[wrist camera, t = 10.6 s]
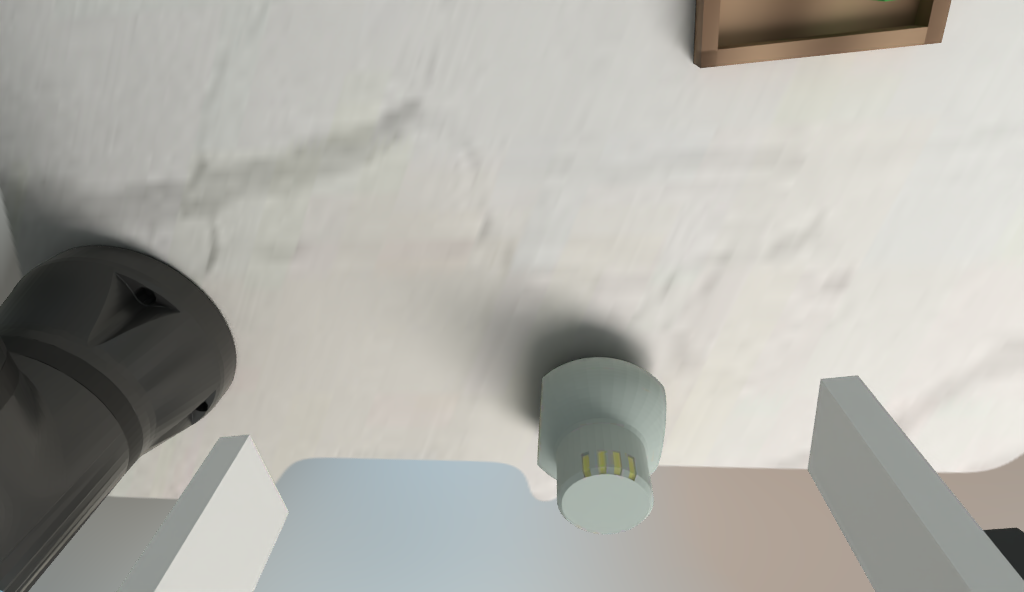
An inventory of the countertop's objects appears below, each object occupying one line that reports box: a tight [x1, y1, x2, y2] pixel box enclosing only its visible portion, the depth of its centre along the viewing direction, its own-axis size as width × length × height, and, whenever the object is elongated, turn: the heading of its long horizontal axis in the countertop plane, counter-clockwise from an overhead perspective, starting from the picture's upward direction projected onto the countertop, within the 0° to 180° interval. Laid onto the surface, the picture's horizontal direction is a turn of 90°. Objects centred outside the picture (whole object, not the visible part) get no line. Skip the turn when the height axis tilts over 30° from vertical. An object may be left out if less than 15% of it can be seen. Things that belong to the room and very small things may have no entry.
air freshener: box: [537, 357, 666, 534], centre depth 39 cm, size 11×8×10 cm
